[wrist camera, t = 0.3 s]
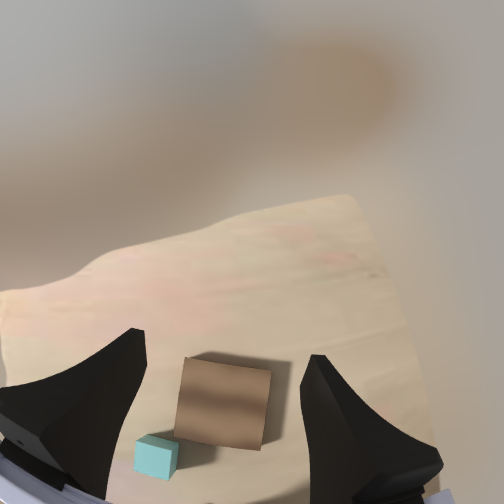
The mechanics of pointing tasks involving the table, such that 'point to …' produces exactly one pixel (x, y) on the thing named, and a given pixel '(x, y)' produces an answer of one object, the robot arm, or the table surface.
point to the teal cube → (156, 457)
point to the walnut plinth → (222, 404)
